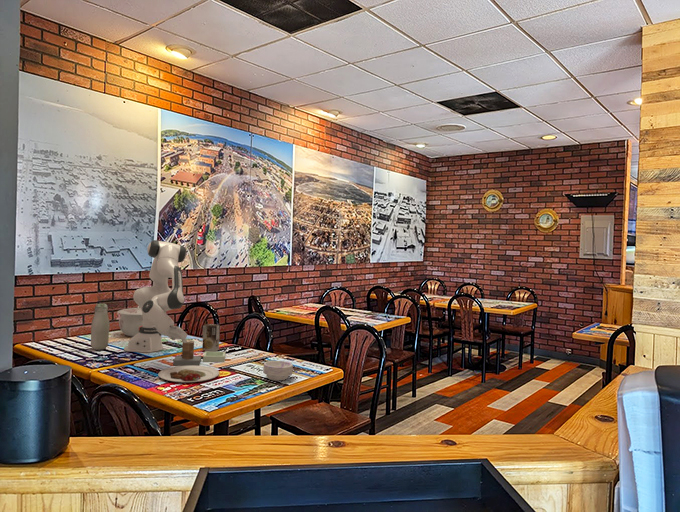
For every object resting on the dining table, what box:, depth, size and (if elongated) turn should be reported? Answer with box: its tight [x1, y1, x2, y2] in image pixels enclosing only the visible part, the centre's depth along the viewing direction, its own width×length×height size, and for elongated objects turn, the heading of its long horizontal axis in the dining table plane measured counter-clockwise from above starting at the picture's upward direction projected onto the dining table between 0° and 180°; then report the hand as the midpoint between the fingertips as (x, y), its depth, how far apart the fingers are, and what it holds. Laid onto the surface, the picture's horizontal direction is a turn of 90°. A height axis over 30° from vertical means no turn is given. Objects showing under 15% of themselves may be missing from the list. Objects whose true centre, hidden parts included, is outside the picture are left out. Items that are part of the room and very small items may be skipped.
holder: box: [202, 351, 226, 363], centre depth 289 cm, size 12×12×3 cm
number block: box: [181, 339, 195, 360], centre depth 276 cm, size 4×5×10 cm
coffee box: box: [201, 323, 221, 352], centre depth 311 cm, size 9×6×16 cm
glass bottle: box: [90, 303, 111, 351], centre depth 297 cm, size 10×10×28 cm
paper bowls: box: [263, 360, 294, 382], centre depth 257 cm, size 15×15×8 cm
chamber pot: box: [116, 305, 143, 338], centre depth 344 cm, size 28×28×21 cm
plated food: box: [157, 365, 220, 384], centre depth 253 cm, size 30×30×3 cm
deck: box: [172, 355, 202, 367], centre depth 276 cm, size 14×10×3 cm
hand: (179, 340), depth 271 cm, fingers open, 8 cm apart
